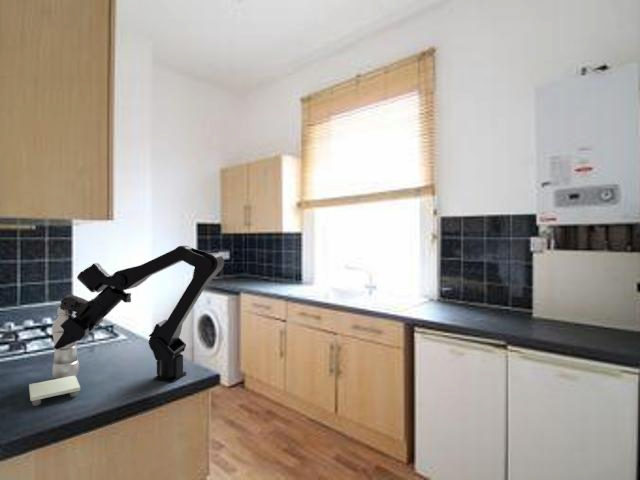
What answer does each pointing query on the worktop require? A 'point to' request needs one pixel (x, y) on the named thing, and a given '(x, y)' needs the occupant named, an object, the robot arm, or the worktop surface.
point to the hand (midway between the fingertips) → (59, 344)
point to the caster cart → (53, 388)
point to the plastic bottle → (64, 349)
